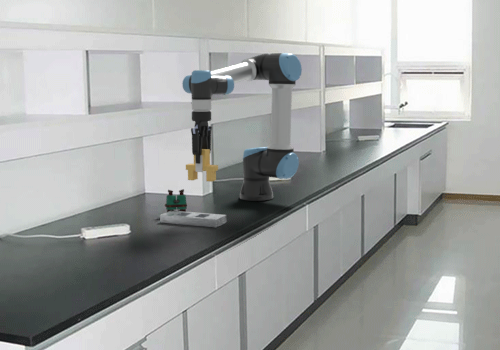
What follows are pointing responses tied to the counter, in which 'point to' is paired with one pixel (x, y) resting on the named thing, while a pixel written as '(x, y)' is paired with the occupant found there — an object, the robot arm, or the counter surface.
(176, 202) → the binoculars
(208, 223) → the grey board with holes
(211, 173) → the yellow stepped block
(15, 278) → the counter surface
